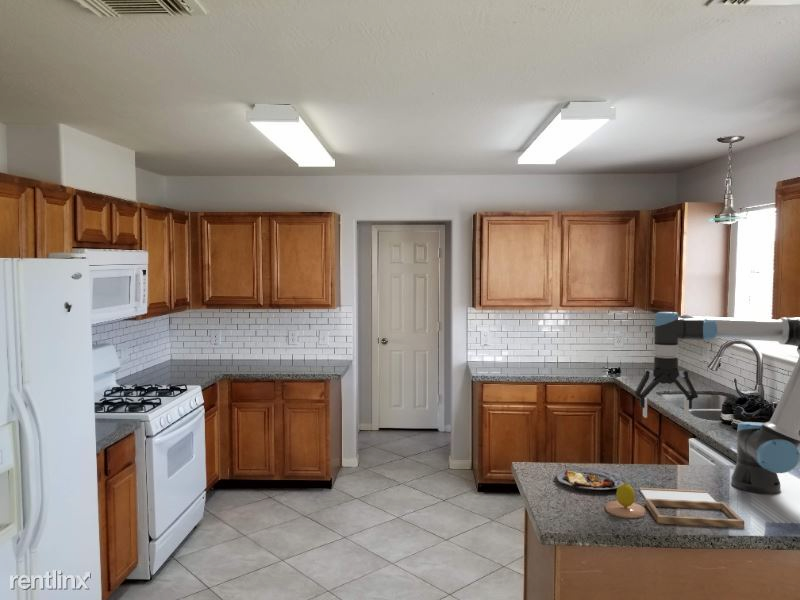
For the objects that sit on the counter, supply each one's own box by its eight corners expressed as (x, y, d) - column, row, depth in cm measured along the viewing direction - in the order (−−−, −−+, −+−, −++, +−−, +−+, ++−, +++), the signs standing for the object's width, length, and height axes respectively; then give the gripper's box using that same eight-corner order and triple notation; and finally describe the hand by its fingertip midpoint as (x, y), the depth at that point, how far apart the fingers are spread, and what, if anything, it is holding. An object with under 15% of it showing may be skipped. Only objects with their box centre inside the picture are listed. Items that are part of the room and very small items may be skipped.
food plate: (629, 496, 201) (629, 486, 201) (559, 493, 206) (559, 483, 206) (617, 475, 226) (617, 466, 226) (555, 472, 231) (555, 463, 231)
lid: (705, 493, 204) (705, 490, 204) (719, 507, 191) (720, 504, 191) (639, 490, 208) (639, 487, 208) (648, 504, 195) (648, 501, 195)
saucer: (640, 504, 194) (640, 501, 194) (649, 519, 182) (649, 516, 182) (602, 502, 196) (602, 499, 196) (609, 517, 184) (609, 513, 184)
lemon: (613, 504, 192) (613, 480, 191) (629, 504, 192) (629, 480, 192) (621, 511, 186) (621, 486, 186) (637, 510, 187) (638, 485, 186)
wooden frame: (723, 507, 191) (723, 501, 191) (744, 527, 176) (744, 521, 175) (644, 503, 195) (644, 497, 195) (658, 523, 179) (658, 516, 179)
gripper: (700, 355, 205) (700, 416, 205) (625, 354, 209) (625, 413, 209) (708, 358, 197) (707, 421, 198) (630, 357, 201) (630, 418, 202)
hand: (665, 417), depth 204 cm, fingers open, 13 cm apart
